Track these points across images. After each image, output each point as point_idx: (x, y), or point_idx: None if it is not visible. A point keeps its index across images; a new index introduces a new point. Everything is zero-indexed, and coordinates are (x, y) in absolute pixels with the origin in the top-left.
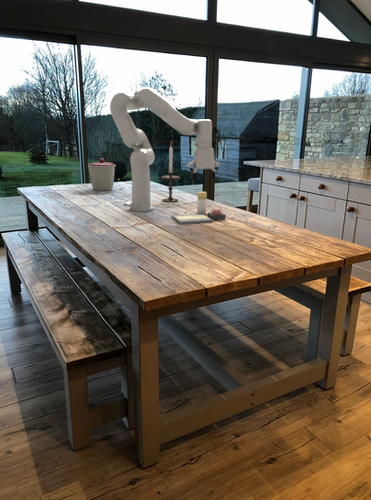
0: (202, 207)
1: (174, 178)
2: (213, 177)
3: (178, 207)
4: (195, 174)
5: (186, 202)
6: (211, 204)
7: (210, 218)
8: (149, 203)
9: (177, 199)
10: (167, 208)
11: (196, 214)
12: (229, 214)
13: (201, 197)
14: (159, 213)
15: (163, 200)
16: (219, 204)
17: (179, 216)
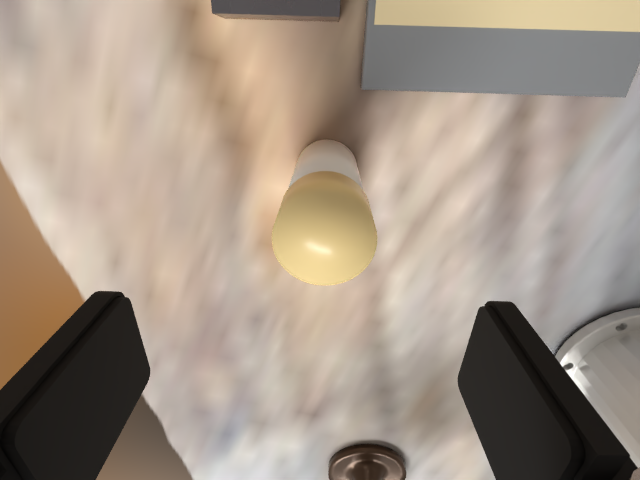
0: (334, 152)
1: None
2: (84, 323)
3: (394, 351)
4: (590, 416)
5: (299, 432)
6: (177, 370)
7: None
8: (622, 363)
9: (330, 471)
10: None
11: (421, 66)
12: (124, 76)
13: (350, 181)
14: (596, 244)
15: (405, 471)
16: None
17: (606, 19)
